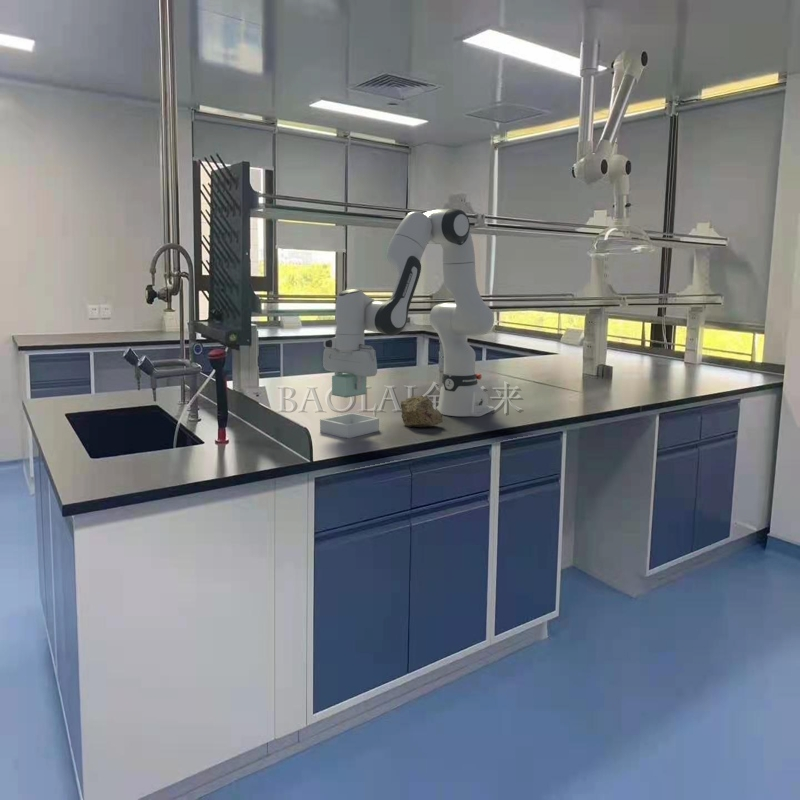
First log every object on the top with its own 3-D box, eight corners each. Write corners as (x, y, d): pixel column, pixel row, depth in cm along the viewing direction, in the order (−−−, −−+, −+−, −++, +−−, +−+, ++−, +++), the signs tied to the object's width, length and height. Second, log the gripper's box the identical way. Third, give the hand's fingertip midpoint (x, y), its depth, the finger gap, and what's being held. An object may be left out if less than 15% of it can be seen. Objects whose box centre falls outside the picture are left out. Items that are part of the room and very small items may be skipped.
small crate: (352, 391, 211) (352, 372, 210) (366, 394, 207) (366, 375, 206) (331, 395, 204) (332, 375, 203) (345, 397, 200) (346, 377, 199)
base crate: (351, 424, 217) (351, 412, 216) (379, 430, 209) (379, 418, 208) (320, 432, 206) (320, 419, 206) (347, 438, 199) (347, 425, 198)
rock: (409, 412, 208) (431, 393, 211) (388, 409, 218) (409, 390, 222) (425, 439, 212) (446, 420, 216) (404, 434, 222) (424, 416, 226)
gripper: (382, 345, 198) (381, 390, 201) (334, 340, 211) (334, 382, 214) (367, 346, 194) (367, 393, 196) (319, 341, 207) (319, 385, 209)
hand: (349, 387), depth 205 cm, fingers closed on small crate, 6 cm apart
